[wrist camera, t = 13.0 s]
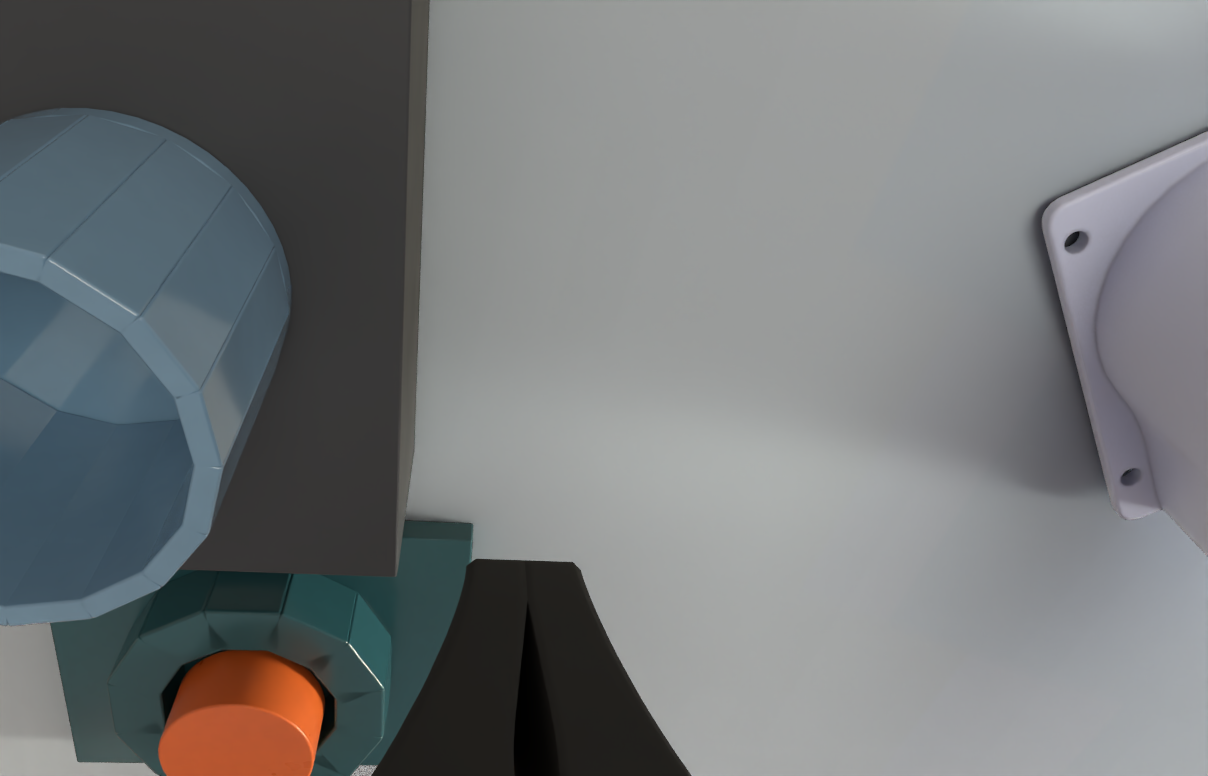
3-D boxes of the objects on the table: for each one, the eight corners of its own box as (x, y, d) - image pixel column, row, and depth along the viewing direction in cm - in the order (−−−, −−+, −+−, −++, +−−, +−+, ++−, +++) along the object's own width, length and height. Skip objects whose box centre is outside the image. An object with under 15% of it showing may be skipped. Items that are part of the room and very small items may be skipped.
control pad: (473, 522, 25) (471, 590, 23) (457, 747, 29) (453, 823, 27) (41, 503, 23) (-6, 574, 21) (86, 741, 27) (50, 821, 25)
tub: (356, 342, 17) (307, 523, 13) (88, 470, 18) (-42, 681, 14) (149, 41, 14) (-1, 140, 10) (-155, 206, 15) (-414, 364, 11)
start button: (324, 649, 24) (311, 707, 22) (326, 749, 25) (315, 809, 24) (173, 645, 23) (150, 703, 22) (184, 747, 25) (164, 807, 23)
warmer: (433, -117, 18) (413, -94, 14) (413, 468, 24) (396, 598, 20) (-121, -187, 17) (-311, -185, 13) (7, 448, 23) (-95, 581, 19)
